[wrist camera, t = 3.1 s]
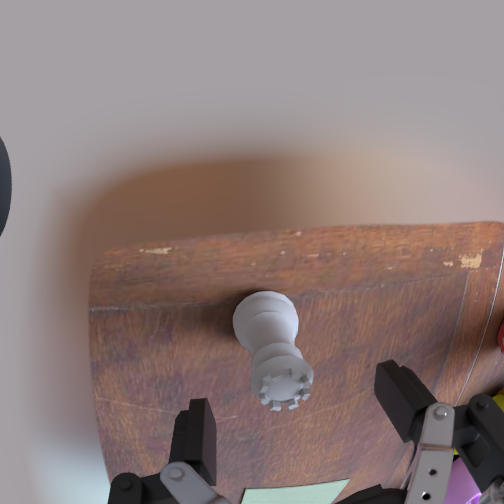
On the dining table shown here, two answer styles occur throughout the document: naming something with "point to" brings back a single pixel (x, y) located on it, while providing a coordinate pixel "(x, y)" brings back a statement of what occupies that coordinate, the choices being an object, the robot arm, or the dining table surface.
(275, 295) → the rook chess piece
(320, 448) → the dining table surface
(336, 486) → the mat
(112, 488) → the robot arm
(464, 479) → the teapot
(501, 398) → the plumb bob
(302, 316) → the dining table surface
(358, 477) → the dining table surface
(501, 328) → the smoothie
